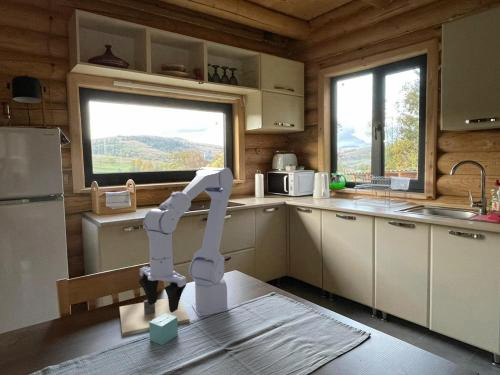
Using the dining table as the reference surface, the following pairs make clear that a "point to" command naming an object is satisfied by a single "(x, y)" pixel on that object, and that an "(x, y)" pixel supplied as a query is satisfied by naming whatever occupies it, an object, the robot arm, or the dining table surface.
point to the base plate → (147, 315)
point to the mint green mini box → (163, 328)
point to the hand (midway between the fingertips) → (163, 306)
